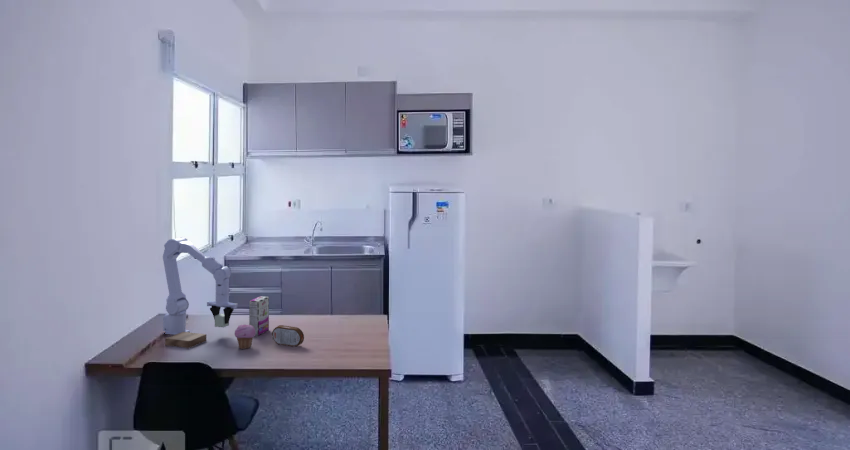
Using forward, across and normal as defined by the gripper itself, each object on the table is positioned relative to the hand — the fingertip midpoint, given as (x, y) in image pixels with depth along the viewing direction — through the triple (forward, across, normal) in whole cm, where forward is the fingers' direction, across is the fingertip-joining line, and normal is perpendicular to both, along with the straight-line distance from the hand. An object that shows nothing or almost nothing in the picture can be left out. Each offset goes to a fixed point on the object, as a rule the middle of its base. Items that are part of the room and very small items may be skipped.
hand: (221, 322), depth 280 cm
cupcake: (+6, -19, +12) cm, 23 cm away
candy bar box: (+6, -12, -12) cm, 18 cm away
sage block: (+2, 0, 0) cm, 2 cm away
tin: (+6, -34, +2) cm, 35 cm away
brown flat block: (+6, +8, +15) cm, 18 cm away
